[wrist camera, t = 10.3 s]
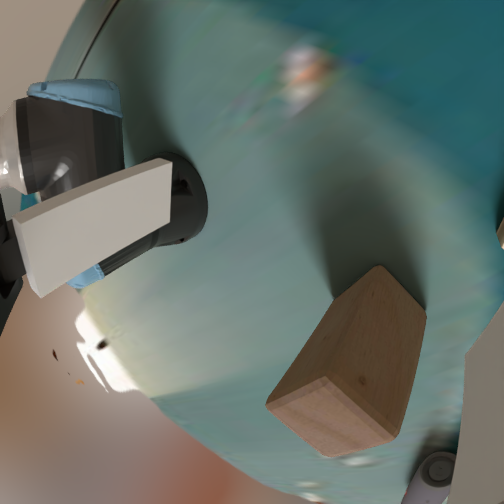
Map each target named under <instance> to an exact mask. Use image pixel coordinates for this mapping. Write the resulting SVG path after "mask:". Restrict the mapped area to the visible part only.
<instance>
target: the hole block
mask: <svg viewBox="0 0 504 504" xmlns="http://www.w3.org/2000/svg"><path fill="white" fill-rule="evenodd" d="M496 234H497V237H498V239H499V242H500V245H501V248H503V249H504V218H503V220H502V222H501V224H500V227H499V229H498V231H497V233H496Z"/></svg>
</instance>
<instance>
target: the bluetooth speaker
mask: <svg viewBox="0 0 504 504" xmlns="http://www.w3.org/2000/svg"><path fill="white" fill-rule="evenodd" d="M455 462H456V455H455V454H453V453H450V452H443V451H441V452H435V453H433V454H431V455H429V456H428V457H427V458H426V459H425V460H424V461H423V462H422V464H421V465H420V466H419V468H418V470H417V471H416V473H415V475H414V477H413V479H412V480H411V482H410V484H409V486H408V488H407V489H406V492H405V495H404V497H403V499H402V502H401V504H442V502H443V501H444V500H445V499H446V497H447V496H448V494H449V492H450V487H451V483H452V478H453V473H454V468H455Z"/></svg>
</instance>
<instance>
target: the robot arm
mask: <svg viewBox="0 0 504 504" xmlns="http://www.w3.org/2000/svg"><path fill="white" fill-rule="evenodd" d="M27 95H28V96H29V97H26V98H22V99H18V100H14V101H13V102H12V104H11V106H10V107H9V108H8V110H7V111H6V113H5V114H4V115H3V116H1V117H0V190H2V189H6V188H9V187H13V188H16V189H17V190H18V191H20V192H21V193H23V194H24V195H28V194H31V193H35V192H40V196H41V201H42V202H41V203H38V204H36V205H34V206H32V207H30V208H27V209H25V210H23V211H21V212H19V213H17V214H15V215H13V216H12V220H9V221H7V222H6V218H5V213H4V208H3V203H2V198H1V194H0V336H1V334H2V331H3V329H4V326H5V324H6V321H7V319H8V317H9V314H10V312H11V310H12V308H13V305H14V303H15V301H16V299H17V297H18V294H19V292H20V290H21V288H22V285H23V280H22V276H23V275H25V274H26V273H27V277H28V280H29V283H30V286H31V288H32V289H33V290H34V291H35V292H36V294H37V295H38V296H39V297H40V298H42V297H43V296H45V295H47V294H48V293H50V292H51V291H53V290H55V289H56V288H58V287H59V286H61V285H63V284H64V283H67V284H68V285H70V286H72V287H74V288H83V287H86V286H88V285H90V284H92V283H94V282H96V281H98V280H102V279H103V278H104V277H105V276H106V275H108V274H110V273H111V272H113V271H114V270H116V269H118V268H119V267H121V266H123V265H124V264H126V263H128V262H129V261H131V260H133V259H134V258H136V257H138V256H140V255H141V254H143V253H145V252H146V251H148V250H150V249H152V248H153V247H160V246H167V245H174V244H180V243H184V242H186V241H188V240H189V239H191V238H193V237H195V236H196V235H197V234H198V233H199V232H200V231H201V230H202V228H203V226H204V224H205V222H206V218H207V207H208V206H207V197H206V192H205V189H204V186H203V183H202V181H201V179H200V177H199V175H198V174H197V172H196V171H195V169H194V168H193V167H192V166H191V164H190V163H189V162H188V161H186V160H185V159H184V158H182V157H181V156H179V155H177V154H174V153H170V152H163V153H159V154H156V155H152V156H150V157H148V158H146V159H144V160H143V161H142V162H141V163H140V164H139V165H136V166H133V167H130V168H127V169H125V164H124V151H123V135H122V118H123V114H122V113H121V103H120V92H119V88H118V87H117V85H116V84H115V83H113V82H111V81H108V80H101V79H67V80H55V81H50V82H49V81H48V82H39V83H34V84H31V85H30V86H29V88H28V91H27ZM447 504H504V302H503V303H502V305H501V306H500V308H499V309H498V311H497V312H496V314H495V315H494V317H493V318H492V320H491V321H490V322H489V324H488V325H487V327H486V328H485V329H484V331H483V332H482V334H481V335H480V336H479V338H478V339H477V340H476V342H475V343H474V344H473V346H472V347H471V348H470V350H469V351H468V352H467V353H466V355H465V373H464V394H463V407H462V418H461V427H460V435H459V443H458V450H457V456H456V462H455V468H454V473H453V478H452V483H451V487H450V492H449V496H448V500H447Z"/></svg>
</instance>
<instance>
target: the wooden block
mask: <svg viewBox="0 0 504 504" xmlns="http://www.w3.org/2000/svg"><path fill="white" fill-rule="evenodd" d="M426 319H427V316H426V312H425V311H424V309H423V308H422V307H421V306H420V305H419V304H418V303H417V302H416V300H415V299H414V298H413V297H412V296H411V295H410V294H409V293H408V292H407V291H406V290H405V289H404V287H403V286H402V285H401V284H400V283H399V282H398V281H397V280H396V279H395V278H394V277H393V276H392V275H391V274H390V273H389V272H388V271H387V270H386V269H385V268H384V267H383V266H381V265H378V266H375V267H373V268H372V269H371V270H370V271H368V272H367V273H366V274H365V275H364V276H363V277H361V278H360V279H359V280H358V281H357V282H355V283H354V284H353V285H352V286H351V287H350V288H348V289H347V290H346V291H345V292H343V293H342V294H341V295H340V296H339V297H337V298H336V299H335V300H334V301H333V302H332V304H331V305H330V307H329V308H328V310H327V312H326V313H325V315H324V316H323V318H322V319H321V321H320V323H319V324H318V326H317V327H316V329H315V330H314V332H313V333H312V335H311V336H310V338H309V339H308V341H307V342H306V344H305V345H304V347H303V348H302V350H301V351H300V353H299V354H298V356H297V357H296V359H295V360H294V362H293V363H292V364H291V366H290V367H289V369H288V370H287V372H286V373H285V375H284V376H283V377H282V379H281V380H280V382H279V383H278V384H277V386H276V387H275V389H274V390H273V391H272V393H271V394H270V395H269V397H268V399H267V401H266V405H265V406H266V408H267V409H268V411H270V412H271V413H272V414H273V415H274V416H275V417H277V418H278V419H279V420H280V421H281V422H282V423H284V424H285V425H286V426H287V427H288V428H290V429H291V430H292V431H293V432H294V433H296V434H297V435H298V436H299V437H301V438H302V439H303V440H304V441H306V442H307V443H308V444H309V445H311V446H312V447H313V448H314V449H316V450H317V451H318V452H320V453H321V454H322V455H324V456H328V457H335V456H339V455H344V454H348V453H352V452H356V451H360V450H364V449H367V448H371V447H375V446H378V445H382V444H385V443H388V442H391V441H392V440H394V439H395V438H396V437H397V435H398V434H399V432H400V428H401V425H402V422H403V419H404V415H405V412H406V408H407V405H408V401H409V398H410V394H411V390H412V386H413V382H414V378H415V374H416V370H417V365H418V361H419V356H420V351H421V346H422V341H423V336H424V331H425V325H426Z"/></svg>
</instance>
